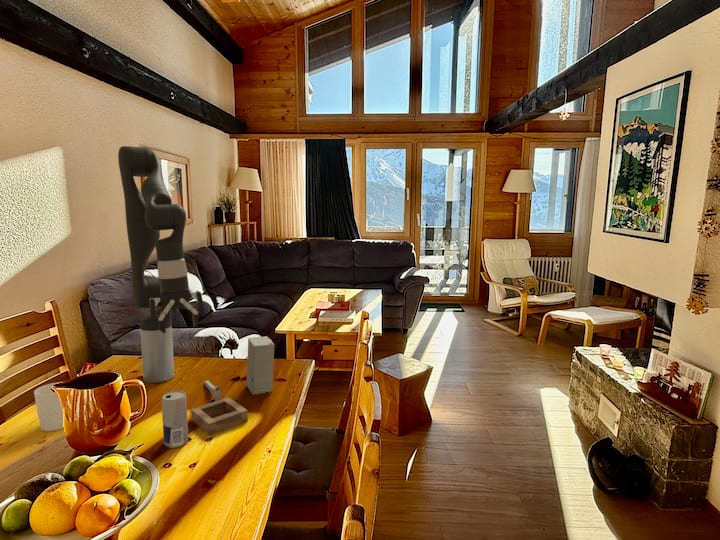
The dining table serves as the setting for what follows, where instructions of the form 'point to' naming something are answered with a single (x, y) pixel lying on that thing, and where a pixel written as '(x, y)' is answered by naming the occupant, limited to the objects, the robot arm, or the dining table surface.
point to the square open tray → (223, 422)
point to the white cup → (48, 408)
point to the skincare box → (260, 365)
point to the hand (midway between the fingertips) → (179, 329)
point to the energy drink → (174, 419)
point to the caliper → (213, 390)
